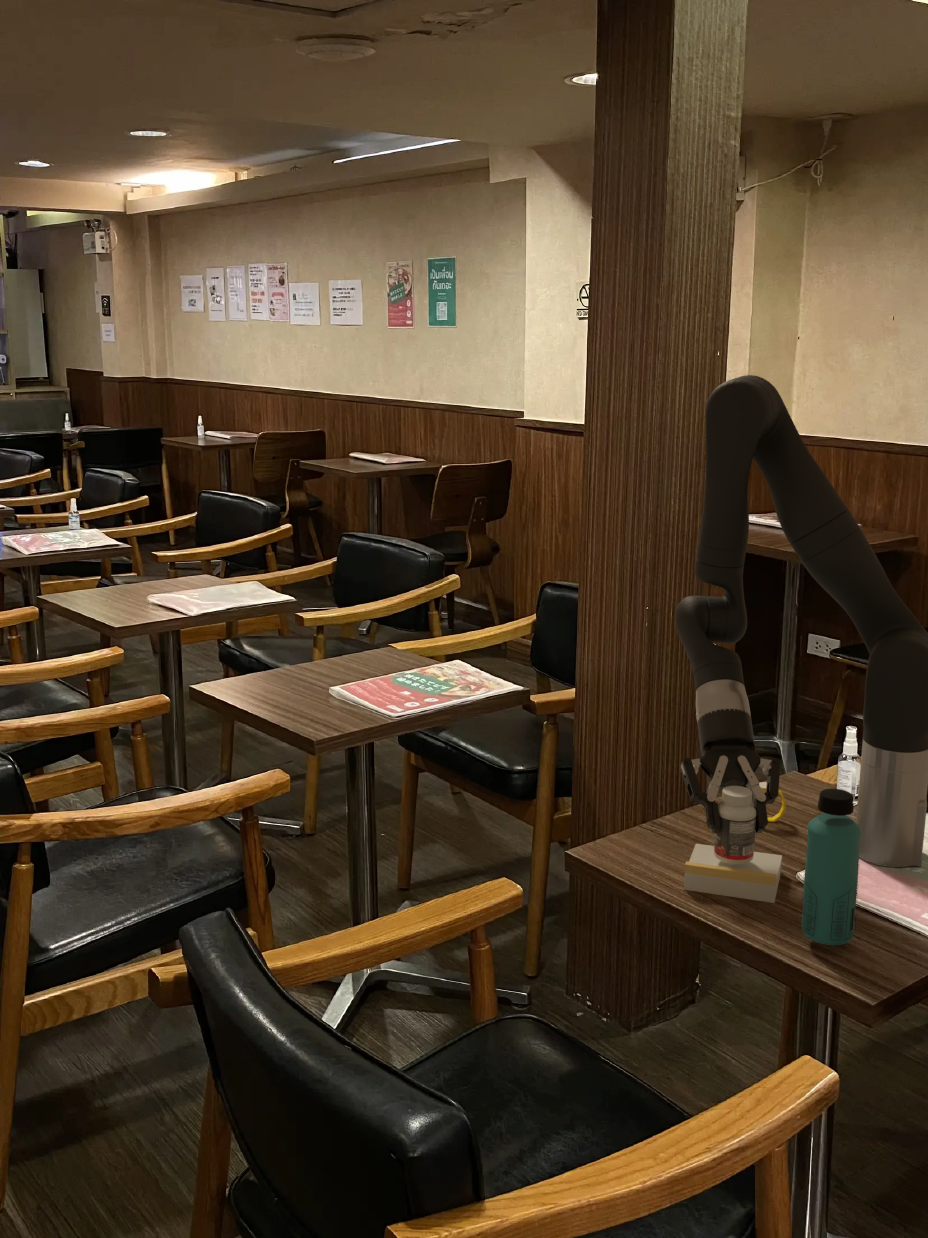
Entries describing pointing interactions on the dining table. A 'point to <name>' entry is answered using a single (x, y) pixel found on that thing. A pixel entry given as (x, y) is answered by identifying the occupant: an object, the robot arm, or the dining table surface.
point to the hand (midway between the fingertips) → (738, 830)
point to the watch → (782, 810)
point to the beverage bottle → (831, 871)
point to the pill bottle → (736, 826)
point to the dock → (733, 875)
